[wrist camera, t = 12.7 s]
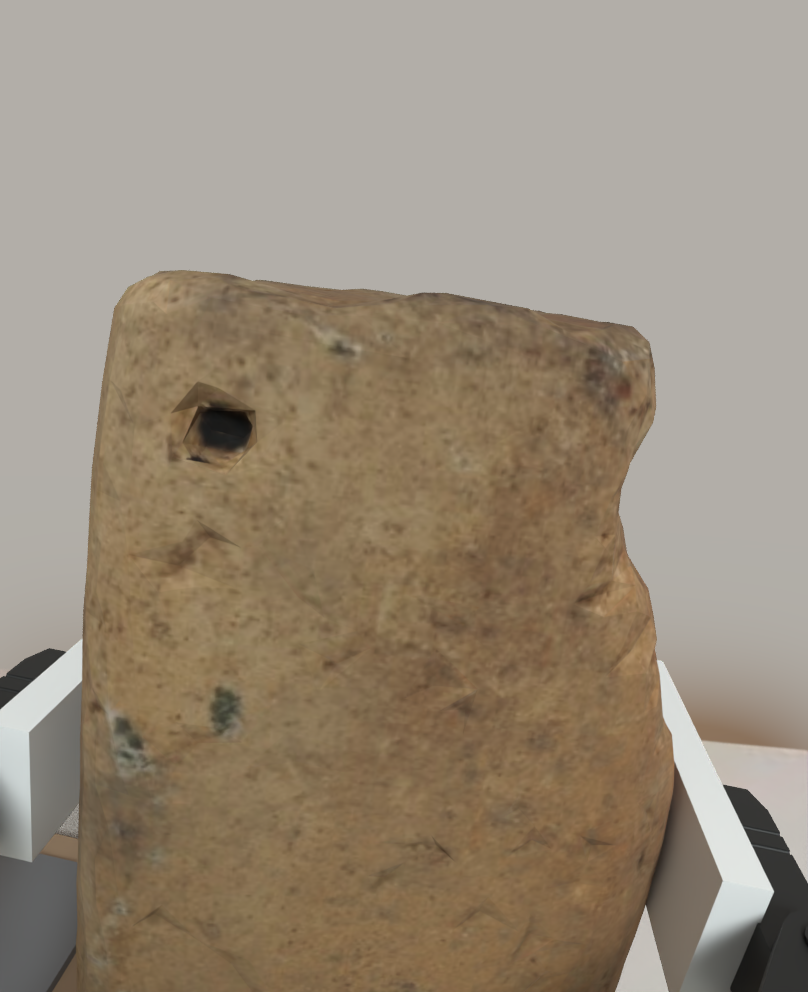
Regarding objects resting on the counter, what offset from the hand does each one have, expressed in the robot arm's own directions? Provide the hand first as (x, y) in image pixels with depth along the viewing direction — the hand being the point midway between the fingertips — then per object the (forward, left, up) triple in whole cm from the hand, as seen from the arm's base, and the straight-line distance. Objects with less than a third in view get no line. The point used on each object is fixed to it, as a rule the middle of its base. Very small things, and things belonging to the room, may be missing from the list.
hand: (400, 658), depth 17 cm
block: (0, -3, -11) cm, 12 cm away
